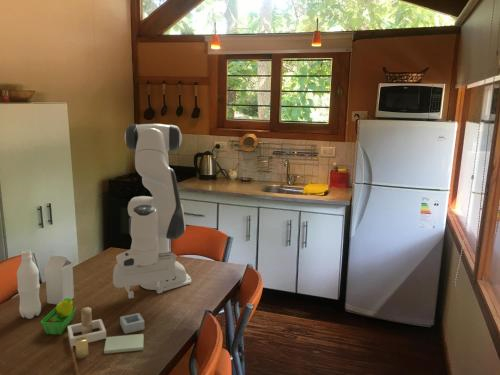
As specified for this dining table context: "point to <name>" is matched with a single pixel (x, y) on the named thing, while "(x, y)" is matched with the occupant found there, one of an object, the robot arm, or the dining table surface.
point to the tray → (89, 336)
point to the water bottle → (28, 286)
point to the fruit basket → (59, 317)
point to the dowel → (86, 320)
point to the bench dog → (81, 347)
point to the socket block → (132, 323)
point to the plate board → (124, 343)
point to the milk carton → (59, 279)
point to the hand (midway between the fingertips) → (145, 294)
